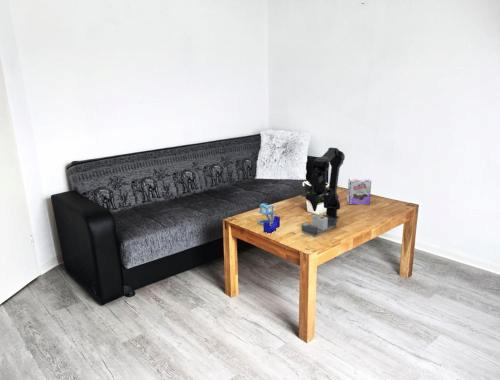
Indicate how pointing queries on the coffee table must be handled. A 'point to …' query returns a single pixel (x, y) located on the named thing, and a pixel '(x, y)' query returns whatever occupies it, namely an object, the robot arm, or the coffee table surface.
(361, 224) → the coffee table surface
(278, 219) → the cable clip
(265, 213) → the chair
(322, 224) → the module
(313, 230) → the rail
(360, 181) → the candy box
